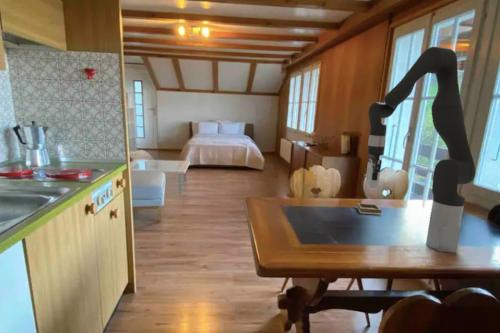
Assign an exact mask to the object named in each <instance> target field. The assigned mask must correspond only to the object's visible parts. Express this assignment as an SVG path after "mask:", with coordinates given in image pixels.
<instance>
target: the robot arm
mask: <svg viewBox="0 0 500 333" xmlns="http://www.w3.org/2000/svg"><path fill="white" fill-rule="evenodd" d="M458 72H459V71H458V56H457V54H456V51H454V50H453V49H451V48H446V47H443V46H442V47H440V46H431V47H429V48H427V49H425V50H424V51H423V52H422V53H421V54H420V56H418V58H417V59H416V61H415V62H414V63H413V65H412V66H411V67H410V68H409V70H408V71H407V73H406V74H405V75H404V76H403V77H402V79H401V80H400V81H399V82H398V83H397V84H396V85H395V86H394V87H393V88H391V90H390V91H389V92H388V93H386V95H385V96H384V99H383V101H384V102H373V103H372V104H371V105H370V106H369V108H368V118H369V119H368V120H369V125H370V130H369V137H368V141H367V149H366V151H367V152H366V154H368V155H369V156H368V158H367V160H368V161H367V163H368V162H371V164H375V166H374V165H372V168H373V174H372V180H377V176H378V173H379V172H380V173H381V168H382V159H381V158H380V156H384V154H385V148H386V135H387V124H385V123H383V122H382V121H381V119H387V118H389V117H390V116H392V115H393V114H394V112H395V111H396V110H397V107H399V105H400V104H402V103H403V102H404V101H406V99H408V98H409V96H410V95H411V94H412V92H413V90H414V87H415V85H416V84H417V82H418V80H420V79H421V78H423V77H424V76H426V74H433V75H435V76H436V81H437V91H436V95H435V97H434V99H433V102H432V103H431V104H432V105H431V107H430V108H431V111H430V112H431V118H432V123H433V128H434V130H436V131H435V132H436V133H437V134H438V136H440V138H441V139H442V141H443V142H444V144H445V146H446V148H447V151H448V156H449V157H448V158H444V159H440V160H438V162H437V163H436V164H435V167H434V169H433V170H434V171H433V175H432V184H431V185H432V187H431V193H432V195H433V196H432V198H433V199H432V204H431V211H430V216H429V224H428V227H427V228H428V229H427V234H426V235H427V236H426V242H425V244H426V245H427V246H428V247H429V248H431V249H433V250H435V251H437V252H440V253H441V252H442V253H451V254H452V253H453V254H456V253H457V251H458V248H459V247H458V246H459V241H460V240H459V239H460V237H461V236H460V235H461V230H462V228H461V223H462V217H463V211H464V207H465V202H466V199H465V197H464V196H463V195H461V194H459V193H458V186H459V185H467V184H470V183H471V182H472V181H473V180H474V179H475V177H476V166H475V162H474V158H473V155H472V152H471V148H470V146H469V140H468V135H467V130H466V125H465V118H464V111H463V110H464V109H463V106H462V100H461V94H460V87H459V85H460V84H459V77H458V76H459V74H458ZM376 168H377V169H376Z"/></svg>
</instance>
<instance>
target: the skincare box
mask: <svg viewBox="0 0 500 333" xmlns="http://www.w3.org/2000/svg"><path fill="white" fill-rule="evenodd" d="M372 165H374V166H375V164H371V162H368V161H367V168H366V174H365V175H366V176H365V186H366V187H368V188H370V189H378V188H379V184H380V183H379V182H380V174H381V171H380V172H379V173H378V176H377V180H372V174H373V168H372ZM376 169H377V168H376Z"/></svg>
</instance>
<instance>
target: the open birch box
mask: <svg viewBox="0 0 500 333" xmlns="http://www.w3.org/2000/svg"><path fill="white" fill-rule="evenodd" d="M356 209H357V211H359V213H360V214H366V215H367V214H368V215H379V216H381V215H382V209H381V208H380V207H379V206H378V204H373V203H362V202H361V203H359V202H358V203H357V202H356Z"/></svg>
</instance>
